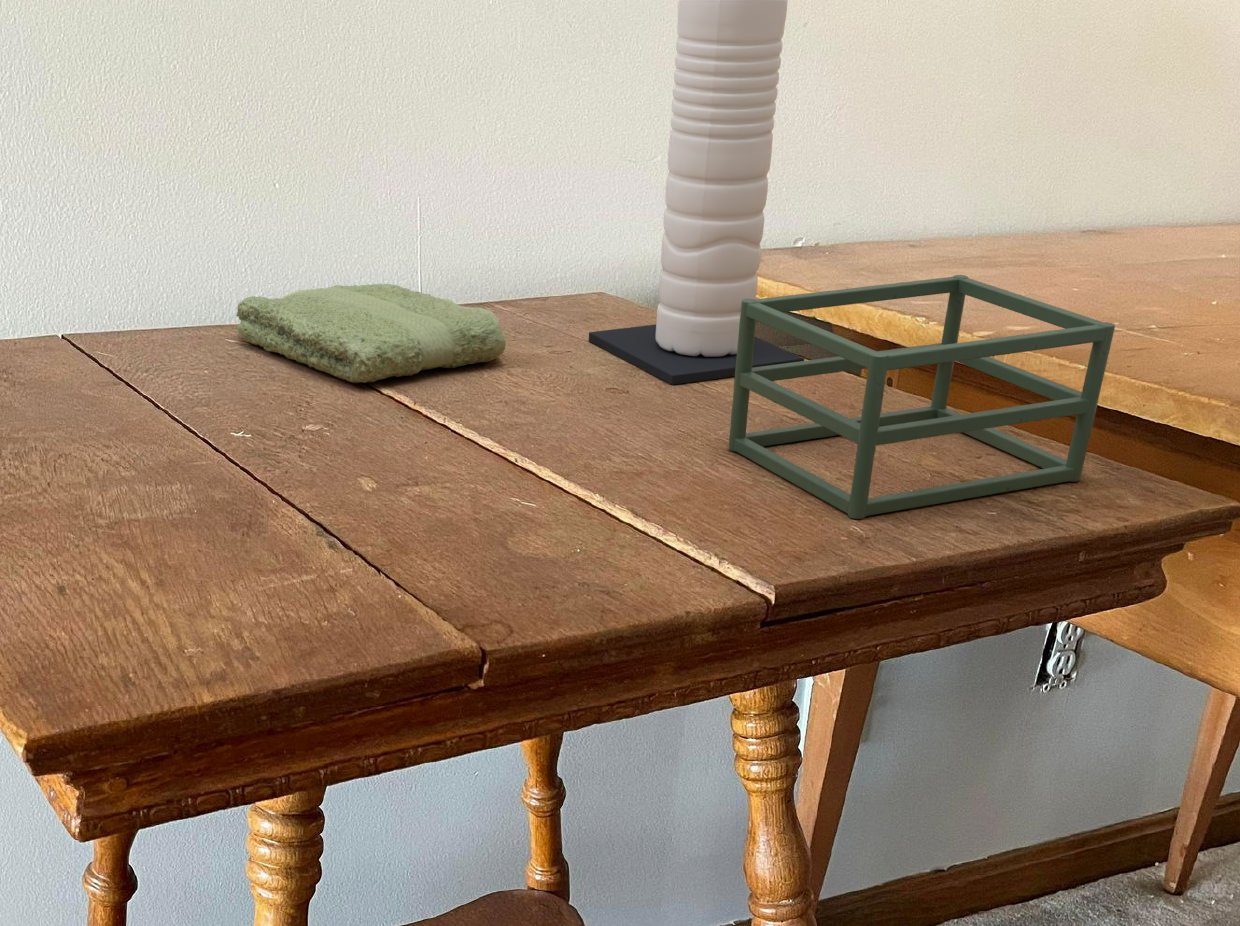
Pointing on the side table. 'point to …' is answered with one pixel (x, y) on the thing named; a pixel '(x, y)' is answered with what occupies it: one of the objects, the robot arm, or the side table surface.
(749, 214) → the water bottle
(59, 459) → the side table surface
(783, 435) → the green open frame box
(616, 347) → the mat
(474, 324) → the washcloth
